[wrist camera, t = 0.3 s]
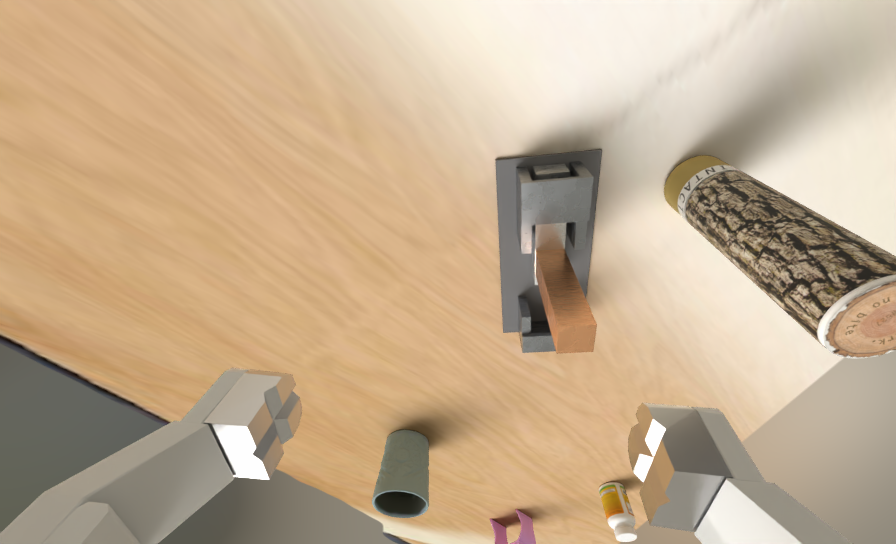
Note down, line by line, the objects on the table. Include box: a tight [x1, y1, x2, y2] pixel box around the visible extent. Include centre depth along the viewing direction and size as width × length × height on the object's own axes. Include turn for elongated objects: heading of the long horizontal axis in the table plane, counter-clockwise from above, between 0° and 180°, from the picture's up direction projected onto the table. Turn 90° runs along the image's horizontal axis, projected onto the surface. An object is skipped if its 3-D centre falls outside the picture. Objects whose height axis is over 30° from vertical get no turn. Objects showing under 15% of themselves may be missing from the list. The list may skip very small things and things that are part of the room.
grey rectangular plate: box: [496, 149, 602, 333], centre depth 51 cm, size 27×12×1 cm, turn 6°
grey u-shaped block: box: [516, 161, 594, 254], centre depth 44 cm, size 9×7×5 cm
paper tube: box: [664, 155, 896, 358], centre depth 35 cm, size 7×7×25 cm
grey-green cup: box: [372, 430, 429, 518], centre depth 72 cm, size 10×10×12 cm
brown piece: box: [532, 164, 597, 353], centre depth 41 cm, size 15×4×17 cm, turn 6°
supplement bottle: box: [599, 482, 637, 542], centre depth 79 cm, size 5×5×10 cm
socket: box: [518, 295, 556, 353], centre depth 54 cm, size 6×7×5 cm
